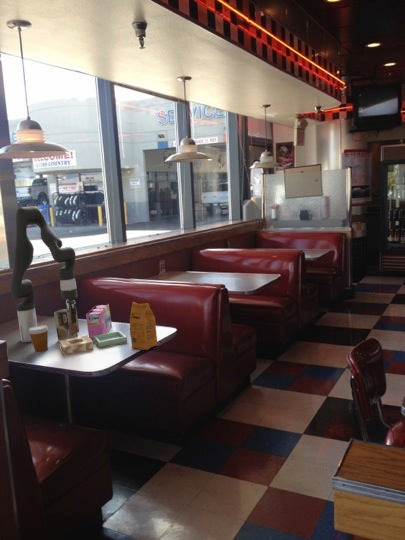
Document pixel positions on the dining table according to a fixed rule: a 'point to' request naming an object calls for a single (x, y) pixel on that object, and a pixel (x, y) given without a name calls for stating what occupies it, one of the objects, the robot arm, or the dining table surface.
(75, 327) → the pin
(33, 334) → the disposable coffee cup
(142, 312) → the coffee package
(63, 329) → the coffee box
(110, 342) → the tray
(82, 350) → the wooden square frame
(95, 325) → the gum box
